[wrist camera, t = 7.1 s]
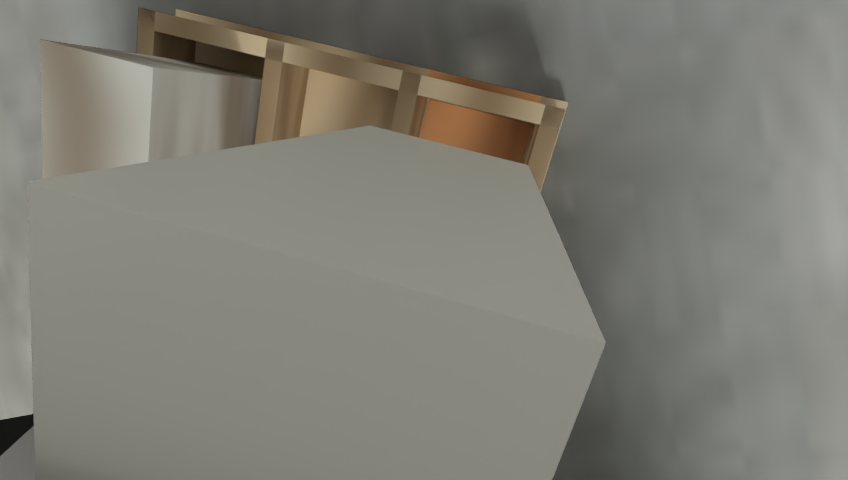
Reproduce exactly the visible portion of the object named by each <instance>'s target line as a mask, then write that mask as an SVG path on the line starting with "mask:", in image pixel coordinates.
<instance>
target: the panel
mask: <svg viewBox="0 0 848 480" xmlns="http://www.w3.org/2000/svg"><path fill="white" fill-rule="evenodd" d="M27 203H28V238H29V274H30V309H31V345H32V380H33V415H34V451H35V480H552V479H553V477H554V474H555V472H556V469H557V467H558V464H559V462H560V459H561V456H562V454H563V451H564V449H565V446H566V444H567V441H568V439H569V436H570V434H571V431H572V428H573V426H574V423H575V421H576V418H577V416H578V413H579V411H580V408H581V406H582V403H583V400H584V398H585V395H586V393H587V390H588V388H589V385H590V383H591V380H592V378H593V375H594V373H595V370H596V367H597V365H598V362H599V360H600V357H601V355H602V352H603V350H604V347H605V345H606V342H605V339H604V337H603V335H602V333H601V330H600V328H599V326H598V323H597V321H596V319H595V317H594V314H593V312H592V310H591V307H590V305H589V303H588V301H587V298H586V296H585V294H584V291H583V289H582V287H581V284H580V282H579V280H578V278H577V275H576V273H575V271H574V268H573V266H572V264H571V262H570V259H569V257H568V255H567V252H566V250H565V248H564V246H563V243H562V241H561V239H560V236H559V234H558V232H557V230H556V227H555V225H554V223H553V220H552V218H551V216H550V214H549V211H548V209H547V207H546V204H545V202H544V200H543V198H542V195H541V193H540V191H539V188H538V186H537V184H536V182H535V179H534V177H533V175H532V172H531V170H530V168H529V166H528V165H526V164H522V163H518V162H514V161H510V160H506V159H502V158H498V157H494V156H490V155H486V154H482V153H478V152H474V151H470V150H466V149H462V148H458V147H454V146H450V145H446V144H442V143H438V142H434V141H430V140H426V139H422V138H418V137H414V136H410V135H406V134H402V133H398V132H394V131H390V130H386V129H382V128H378V127H374V126H364V127H358V128H352V129H346V130H340V131H333V132H327V133H321V134H315V135H309V136H303V137H297V138H291V139H284V140H278V141H272V142H266V143H260V144H254V145H248V146H242V147H235V148H229V149H223V150H217V151H211V152H205V153H199V154H193V155H186V156H180V157H174V158H168V159H162V160H156V161H150V162H144V163H137V164H131V165H125V166H119V167H113V168H107V169H101V170H95V171H88V172H82V173H76V174H70V175H64V176H58V177H52V178H45V179H39V180H33V181H27Z"/></svg>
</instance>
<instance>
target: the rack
mask: <svg viewBox="0 0 848 480" xmlns="http://www.w3.org/2000/svg"><path fill="white" fill-rule="evenodd" d="M40 43H41V118H42V179H45V178H52V177H58V176H64V175H70V174H76V173H82V172H88V171H95V170H101V169H107V168H113V167H119V166H125V165H131V164H137V163H144V162H150V161H156V160H162V159H168V158H174V157H180V156H186V155H193V154H199V153H205V152H211V151H217V150H223V149H229V148H235V147H242V146H248V145H254V144H260V143H266V142H272V141H278V140H284V139H291V138H297V137H303V136H309V135H315V134H321V133H327V132H333V131H340V130H346V129H352V128H358V127H364V126H374V127H378V128H382V129H386V130H390V131H394V132H398V133H402V134H406V135H410V136H414V137H418V138H422V139H426V140H430V141H434V142H438V143H442V144H446V145H450V146H454V147H458V148H462V149H466V150H470V151H474V152H478V153H482V154H486V155H490V156H494V157H498V158H502V159H506V160H510V161H514V162H518V163H522V164H526V165H528V166H529V168H530V170H531V172H532V175H533V177H534V179H535V182H536V184H537V186H538V188H539V191H540V193H541V190H542V186H543V183H544V180H545V177H546V174H547V170H548V167H549V164H550V161H551V157H552V154H553V151H554V148H555V145H556V141H557V138H558V135H559V132H560V128H561V125H562V122H563V119H564V116H565V112H566V109H567V106H568V103H569V102H565V101H560V100H556V99H552V98H548V97H544V96H539V95H535V94H531V93H527V92H523V91H518V90H514V89H510V88H506V87H502V86H497V85H493V84H489V83H485V82H481V81H476V80H472V79H468V78H464V77H460V76H455V75H451V74H447V73H443V72H439V71H434V70H430V69H426V68H422V67H418V66H413V65H409V64H405V63H401V62H397V61H392V60H388V59H384V58H380V57H376V56H371V55H367V54H363V53H359V52H355V51H350V50H346V49H342V48H338V47H334V46H330V45H325V44H321V43H317V42H313V41H309V40H304V39H300V38H296V37H292V36H288V35H283V34H279V33H275V32H271V31H267V30H262V29H258V28H254V27H250V26H246V25H241V24H237V23H233V22H229V21H225V20H220V19H216V18H212V17H208V16H204V15H199V14H195V13H191V12H187V11H183V10H178V9H176V13H175V16H173V15H169V14H165V13H160V12H156V11H152V10H148V9H144V8H140V7H139V8H138V31H137V53H130V52H123V51H116V50H109V49H103V48H96V47H89V46H82V45H75V44H68V43H61V42H55V41H48V40H41V39H40Z"/></svg>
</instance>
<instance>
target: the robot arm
mask: <svg viewBox="0 0 848 480" xmlns="http://www.w3.org/2000/svg"><path fill="white" fill-rule="evenodd" d="M0 480H35V451H34V415H33V414H32V415H26V416H20V417H15V418H9V419H4V420H0Z"/></svg>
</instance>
